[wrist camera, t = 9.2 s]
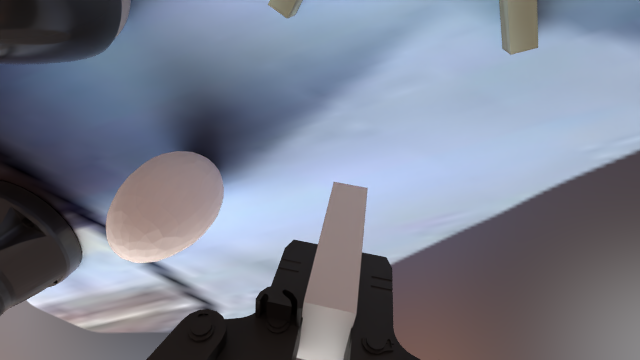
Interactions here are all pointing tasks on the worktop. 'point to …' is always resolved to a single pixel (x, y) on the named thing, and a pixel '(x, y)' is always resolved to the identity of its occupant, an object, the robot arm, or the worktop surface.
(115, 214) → the egg
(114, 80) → the worktop surface
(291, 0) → the wooden slatted bench
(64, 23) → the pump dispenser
